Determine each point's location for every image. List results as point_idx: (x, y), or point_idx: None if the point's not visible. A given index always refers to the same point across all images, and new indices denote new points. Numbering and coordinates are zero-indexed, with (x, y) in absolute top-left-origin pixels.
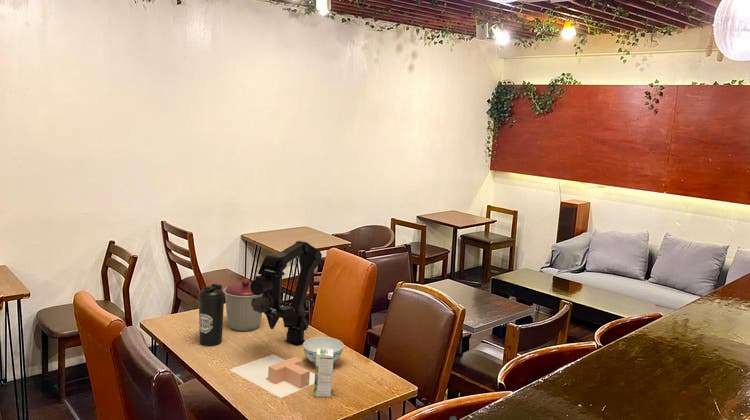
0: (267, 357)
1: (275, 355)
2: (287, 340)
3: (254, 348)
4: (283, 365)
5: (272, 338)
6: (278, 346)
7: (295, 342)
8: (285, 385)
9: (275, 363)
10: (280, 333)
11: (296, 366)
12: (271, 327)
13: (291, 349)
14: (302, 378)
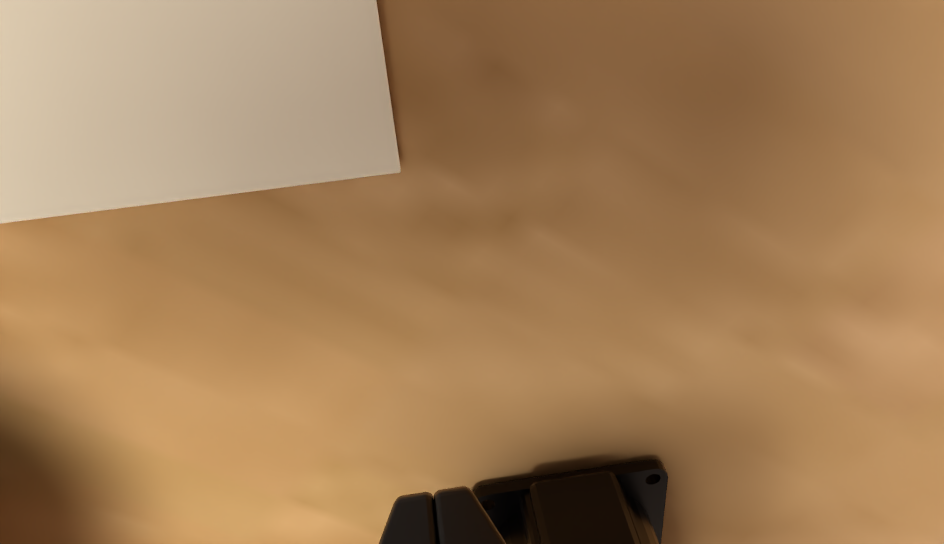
0: (336, 31)
1: (337, 179)
2: (599, 492)
3: (806, 71)
4: None
5: (840, 402)
6: (608, 357)
7: (511, 530)
8: None
9: (14, 6)
10: (860, 509)
11: None
12: (387, 541)
13: (429, 429)
14: None
